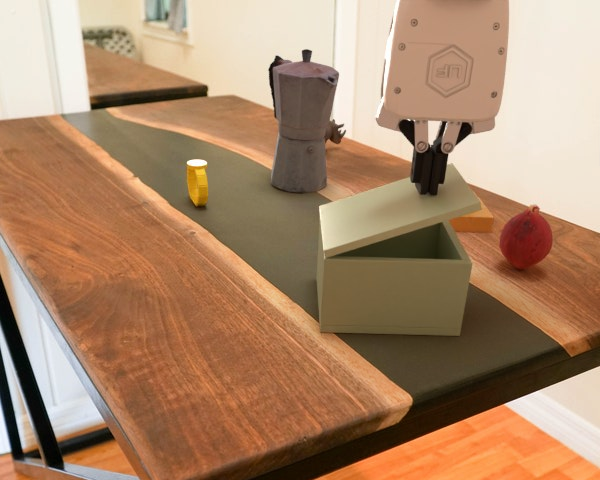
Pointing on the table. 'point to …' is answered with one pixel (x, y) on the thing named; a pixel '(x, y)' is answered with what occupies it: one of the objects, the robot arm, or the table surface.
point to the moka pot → (301, 121)
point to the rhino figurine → (334, 132)
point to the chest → (396, 285)
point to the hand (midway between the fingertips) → (425, 190)
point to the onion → (526, 238)
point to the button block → (474, 221)
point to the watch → (197, 181)
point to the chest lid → (392, 212)
